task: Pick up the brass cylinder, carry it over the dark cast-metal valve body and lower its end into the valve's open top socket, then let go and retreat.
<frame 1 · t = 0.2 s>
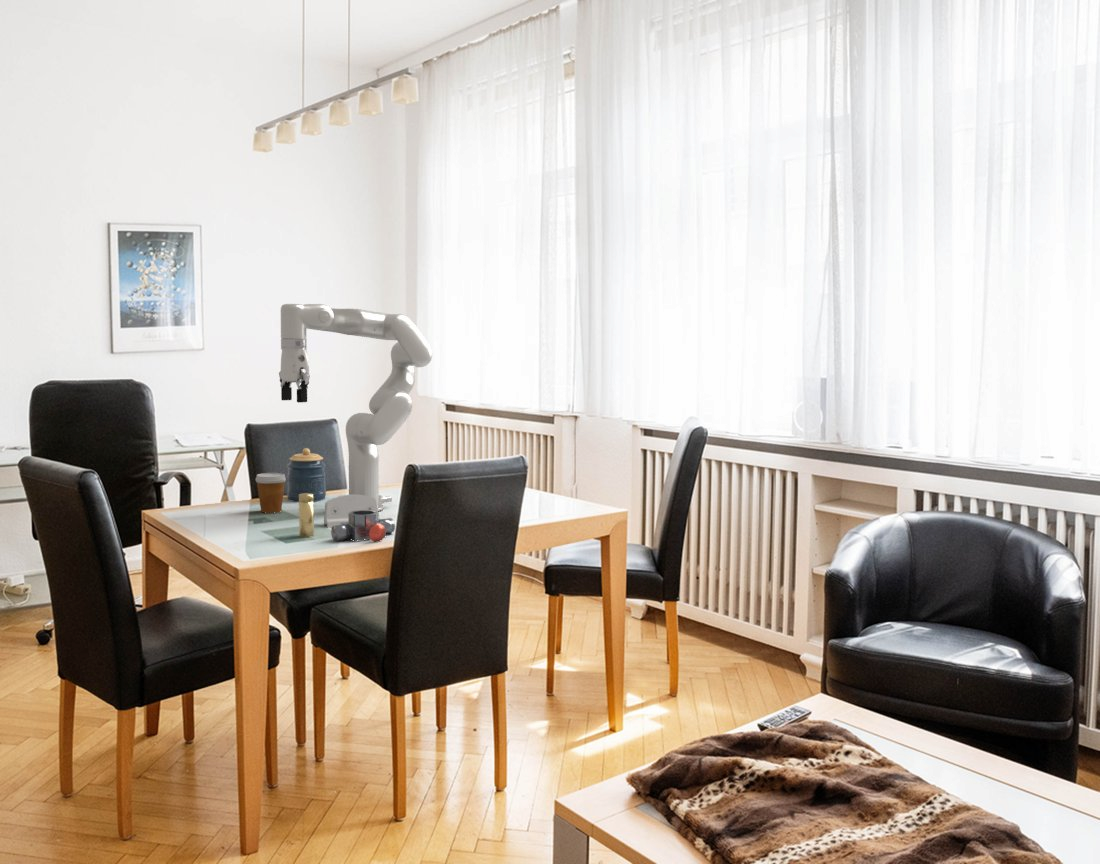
hand: (294, 401, 301), 36 cm above the table, tool pointing down, fingers open, 9 cm apart
disposable coffee cup: (271, 512, 316), on the table
brass cylinder: (306, 536, 280), on the table
canister: (306, 499, 340), on the table
valve body: (363, 537, 280), on the table
white slotted block: (351, 524, 299), on the table
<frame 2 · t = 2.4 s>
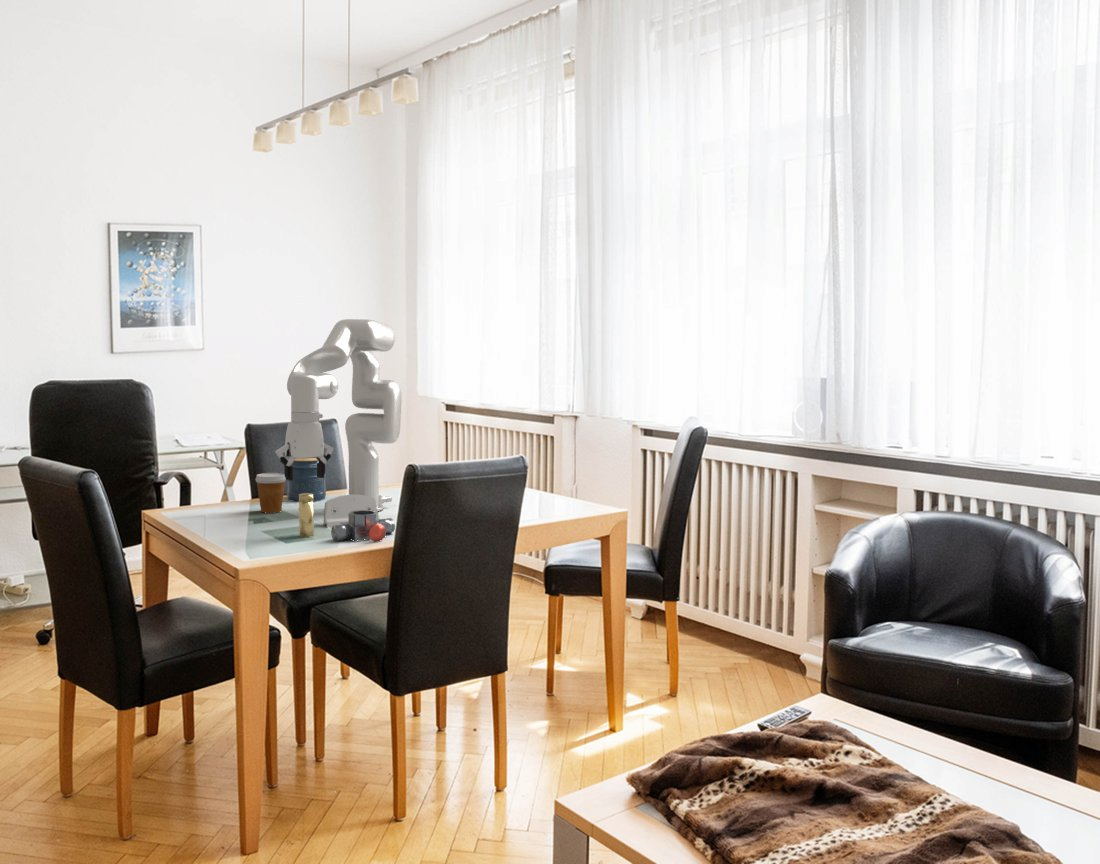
hand: (305, 478, 278), 17 cm above the table, tool pointing down, fingers open, 9 cm apart
nothing on the table moved.
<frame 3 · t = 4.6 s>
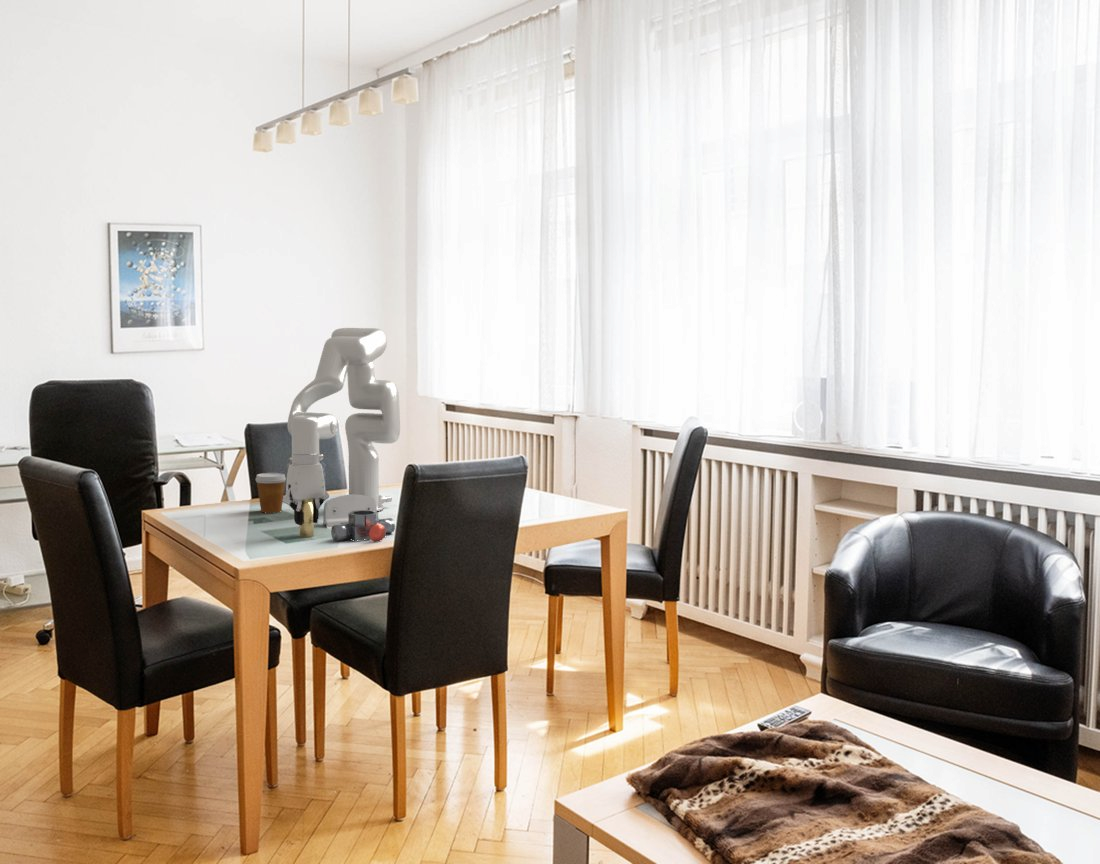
hand: (306, 522, 280), 4 cm above the table, tool pointing down, fingers closed on brass cylinder, 4 cm apart
brass cylinder: (306, 536, 280), on the table, touching gripper
everything else where it was.
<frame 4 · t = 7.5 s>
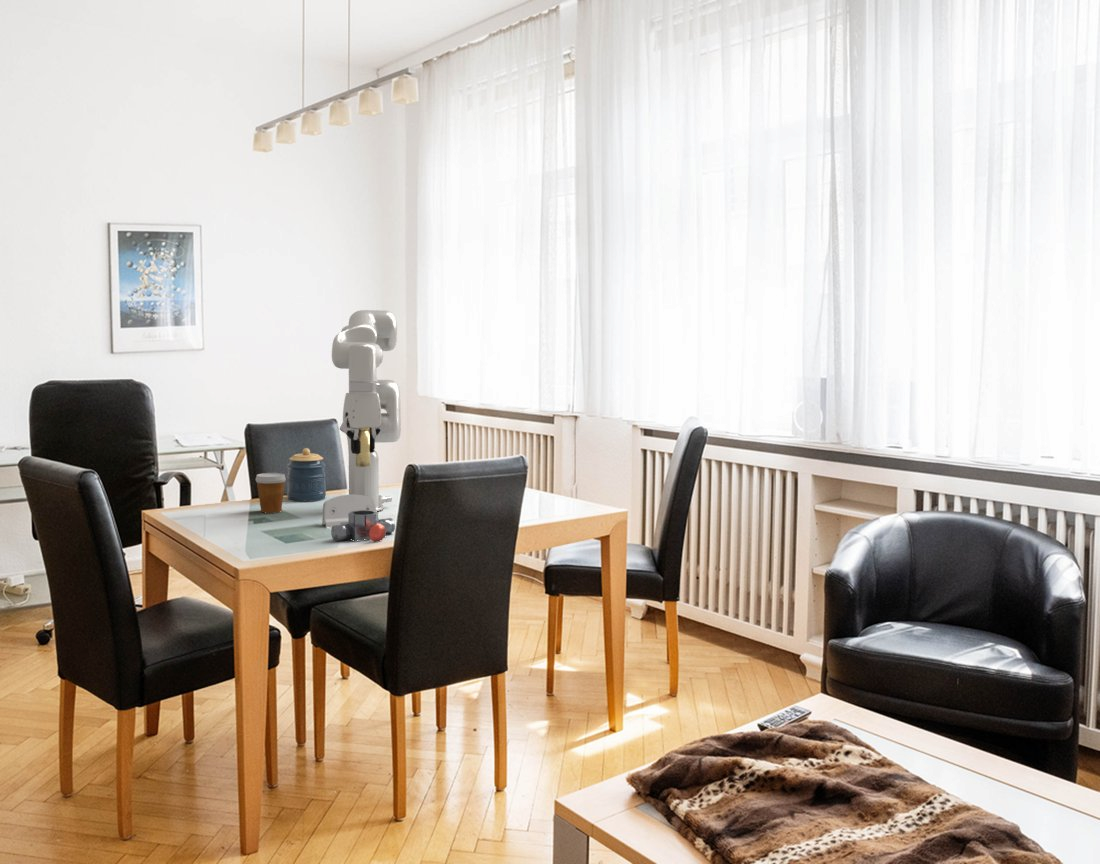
hand: (362, 452, 277), 24 cm above the table, tool pointing down, fingers closed on brass cylinder, 4 cm apart
brass cylinder: (363, 465, 278), point 20 cm above the table, touching gripper
everything else where it was.
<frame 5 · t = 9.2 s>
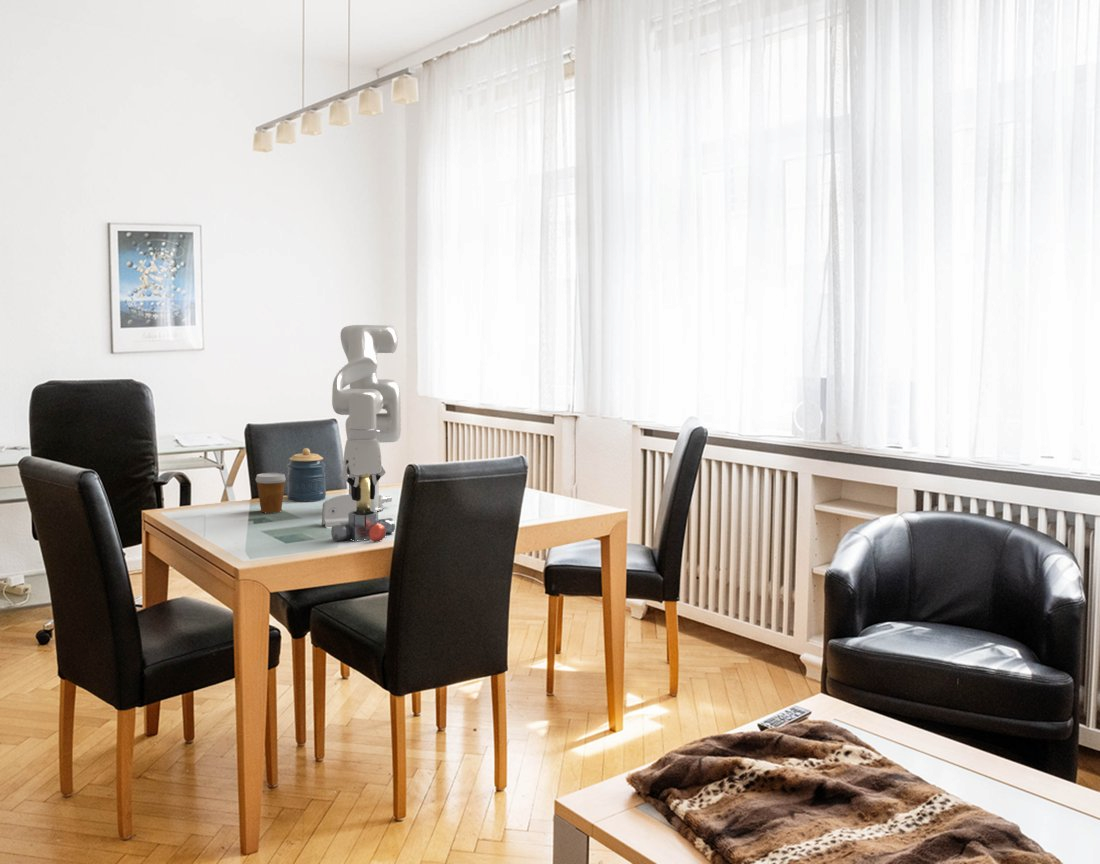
hand: (363, 498, 279), 11 cm above the table, tool pointing down, fingers closed on brass cylinder, 4 cm apart
brass cylinder: (363, 512, 279), point 7 cm above the table, touching gripper
everything else where it was.
when the fingers open (9 cm above the table, at t = 10.5 s): brass cylinder drops 1 cm, resting on valve body.
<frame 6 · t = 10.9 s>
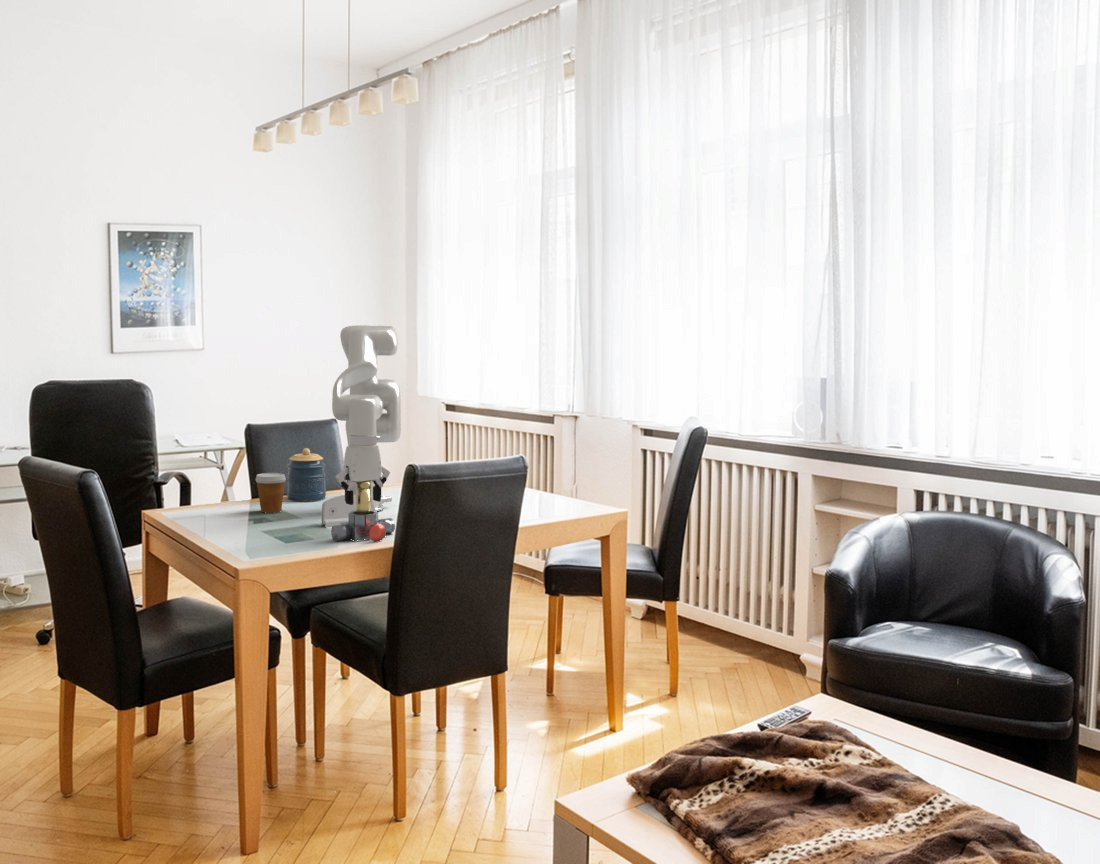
hand: (363, 502, 279), 10 cm above the table, tool pointing down, fingers open, 8 cm apart
brass cylinder: (363, 523, 280), point 4 cm above the table, touching valve body
everything else where it was.
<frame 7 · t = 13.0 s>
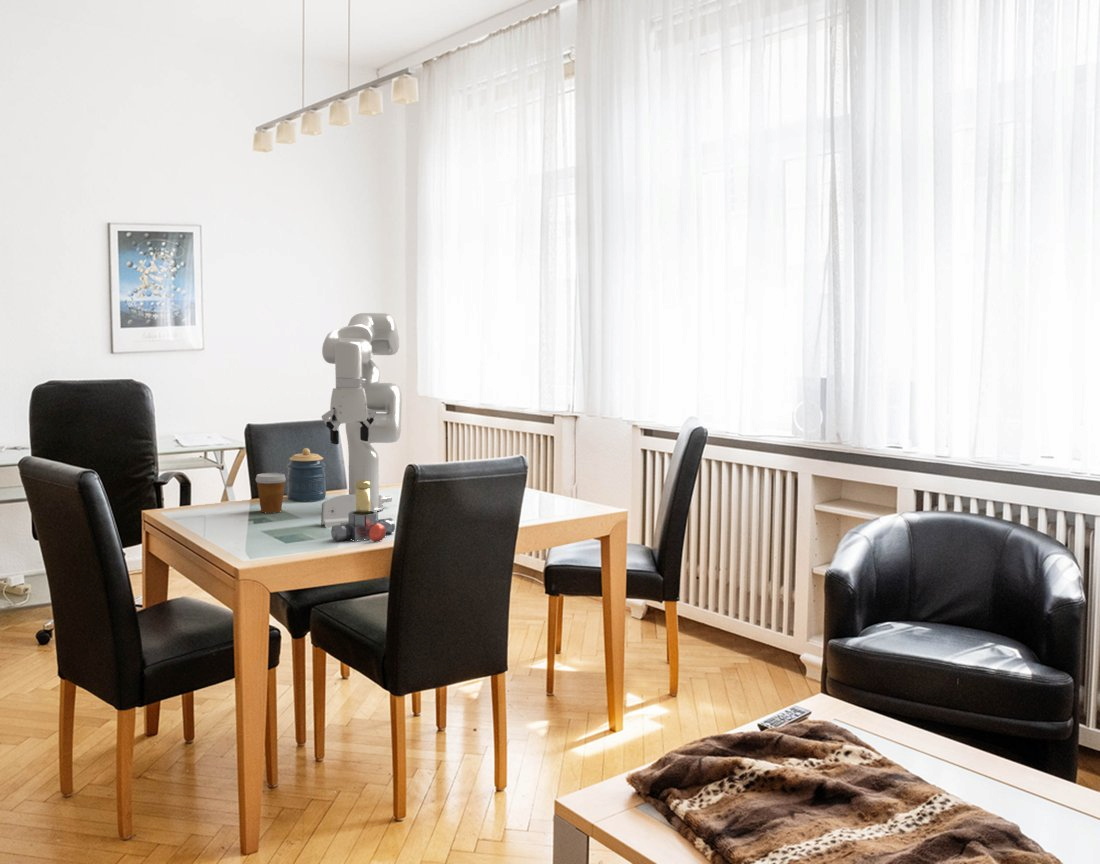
hand: (349, 442, 286), 26 cm above the table, tool pointing down, fingers open, 9 cm apart
nothing on the table moved.
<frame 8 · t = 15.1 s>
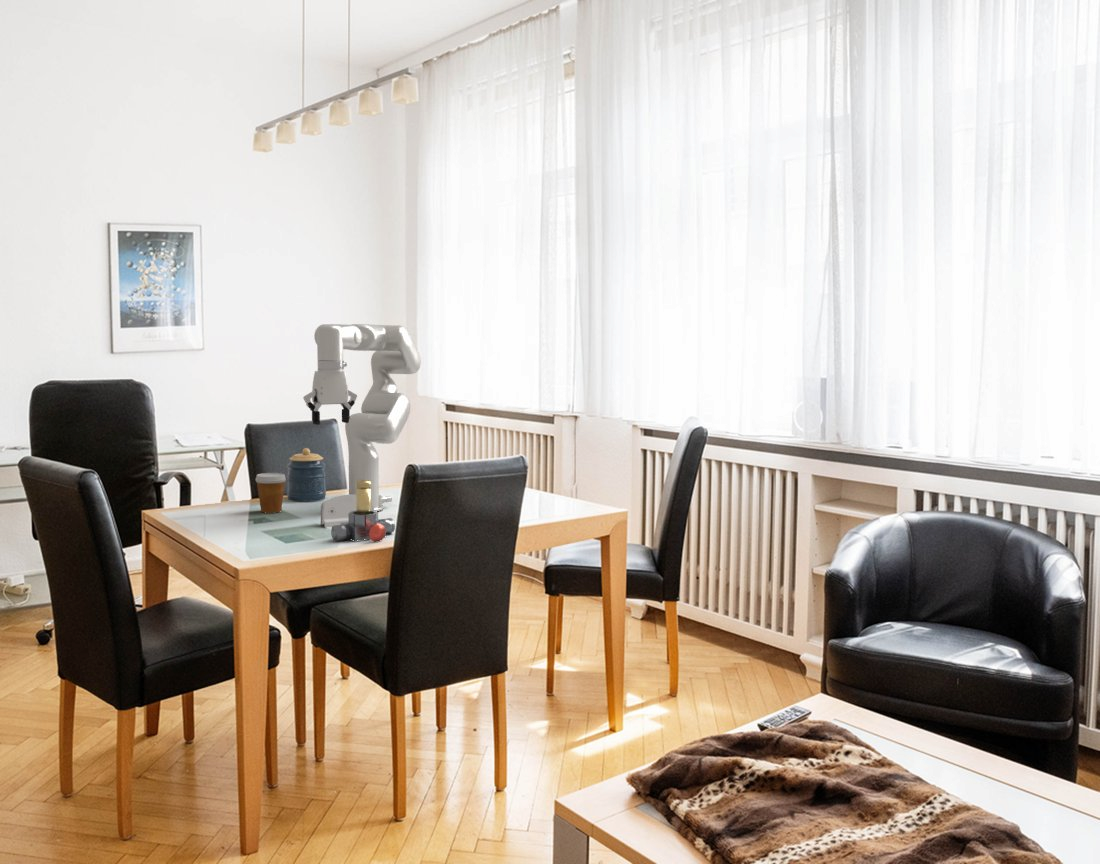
hand: (331, 423, 297), 30 cm above the table, tool pointing down, fingers open, 9 cm apart
at the end: brass cylinder 0.0 cm off-centre on the valve body, point 4.0 cm above the valve body's base; brass cylinder tilted 1°; the gripper is holding nothing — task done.
